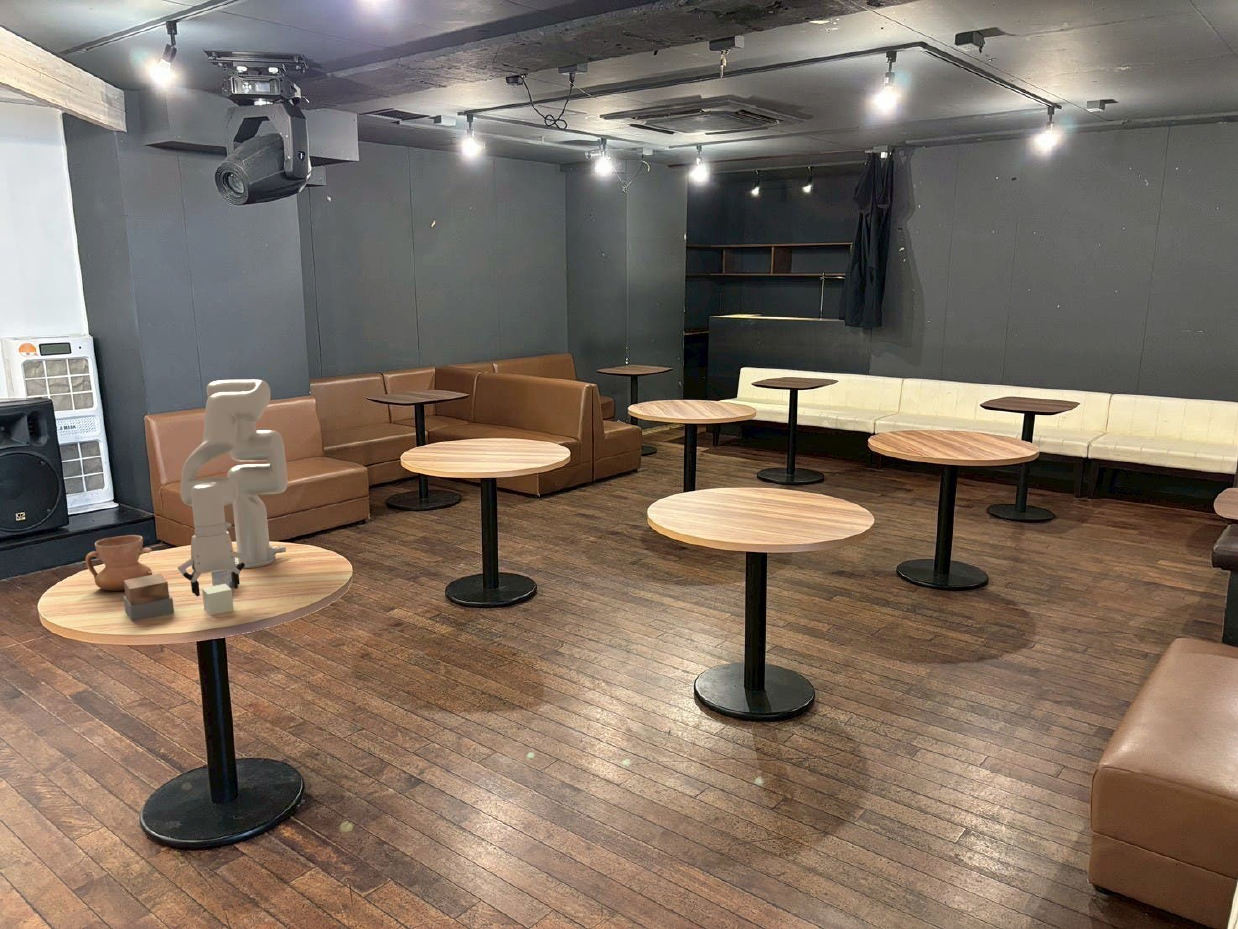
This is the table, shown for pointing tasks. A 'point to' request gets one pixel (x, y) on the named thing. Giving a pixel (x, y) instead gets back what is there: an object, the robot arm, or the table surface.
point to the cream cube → (217, 599)
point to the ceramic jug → (118, 561)
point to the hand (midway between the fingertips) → (216, 591)
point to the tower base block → (149, 609)
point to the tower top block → (146, 589)
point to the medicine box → (222, 577)
